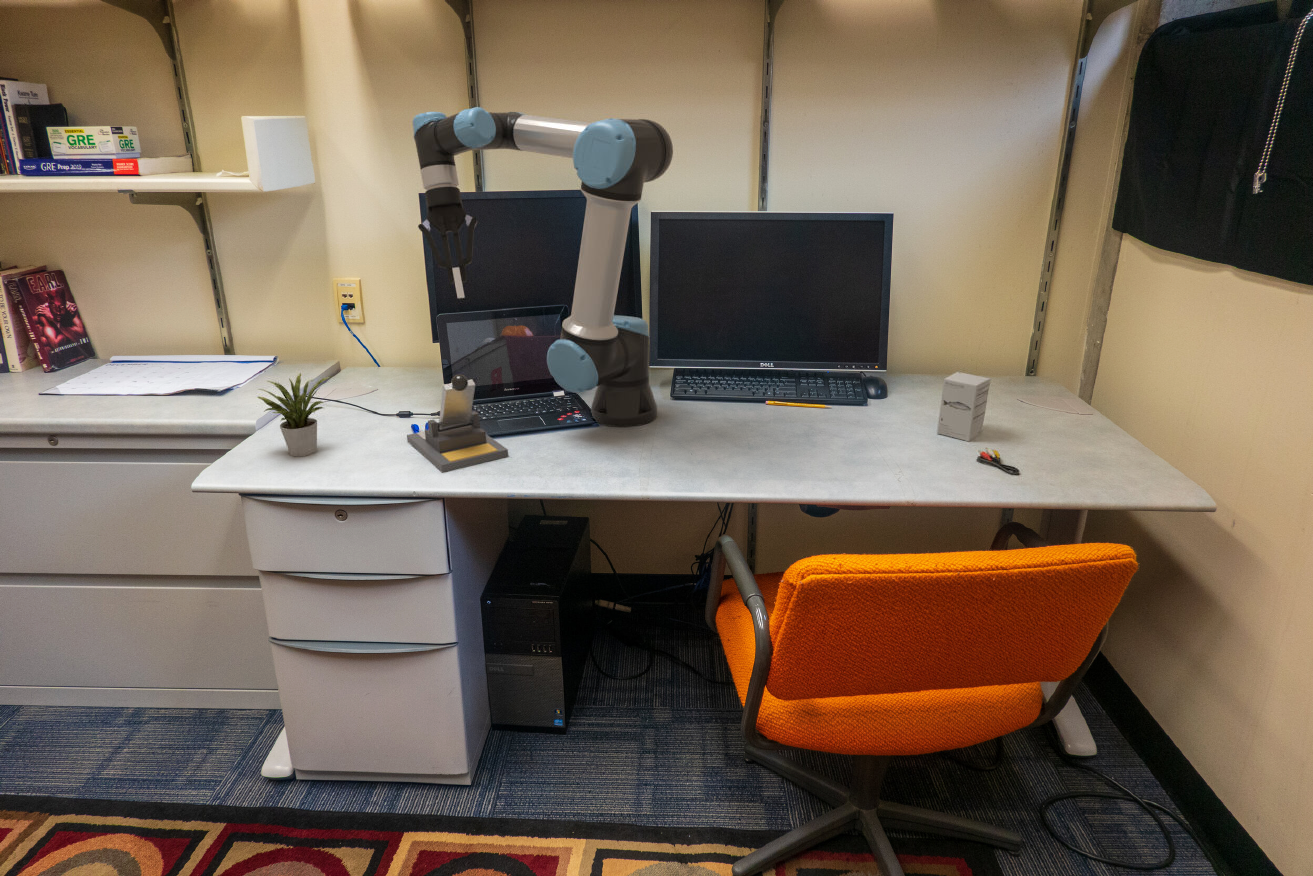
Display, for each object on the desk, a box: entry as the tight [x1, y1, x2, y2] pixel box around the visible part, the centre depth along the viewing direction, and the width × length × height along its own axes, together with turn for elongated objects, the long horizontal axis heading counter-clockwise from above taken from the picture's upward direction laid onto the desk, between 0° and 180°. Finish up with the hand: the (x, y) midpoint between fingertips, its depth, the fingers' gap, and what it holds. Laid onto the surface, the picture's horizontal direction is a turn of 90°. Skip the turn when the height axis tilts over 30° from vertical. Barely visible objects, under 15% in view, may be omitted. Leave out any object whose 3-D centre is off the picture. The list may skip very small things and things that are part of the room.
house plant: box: [256, 372, 333, 457], centre depth 167 cm, size 14×14×16 cm
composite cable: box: [976, 447, 1020, 476], centre depth 160 cm, size 10×5×2 cm, turn 13°
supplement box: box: [936, 371, 992, 442], centre depth 175 cm, size 7×7×13 cm
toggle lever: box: [437, 374, 476, 432], centre depth 164 cm, size 3×7×14 cm
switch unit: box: [406, 410, 509, 473], centre depth 169 cm, size 20×14×7 cm
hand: (461, 297), depth 181 cm, fingers closed
